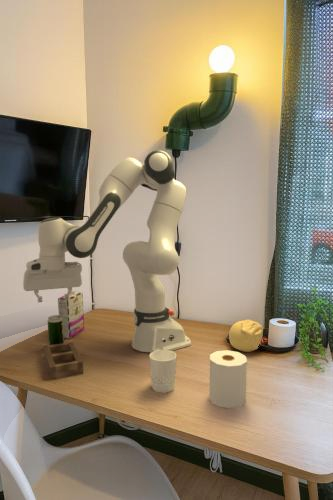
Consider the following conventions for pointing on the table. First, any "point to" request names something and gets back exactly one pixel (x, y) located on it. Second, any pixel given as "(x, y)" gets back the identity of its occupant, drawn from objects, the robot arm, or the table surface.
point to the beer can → (55, 330)
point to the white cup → (163, 370)
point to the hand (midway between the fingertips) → (53, 300)
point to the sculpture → (246, 335)
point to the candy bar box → (72, 314)
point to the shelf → (63, 360)
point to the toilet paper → (228, 378)
